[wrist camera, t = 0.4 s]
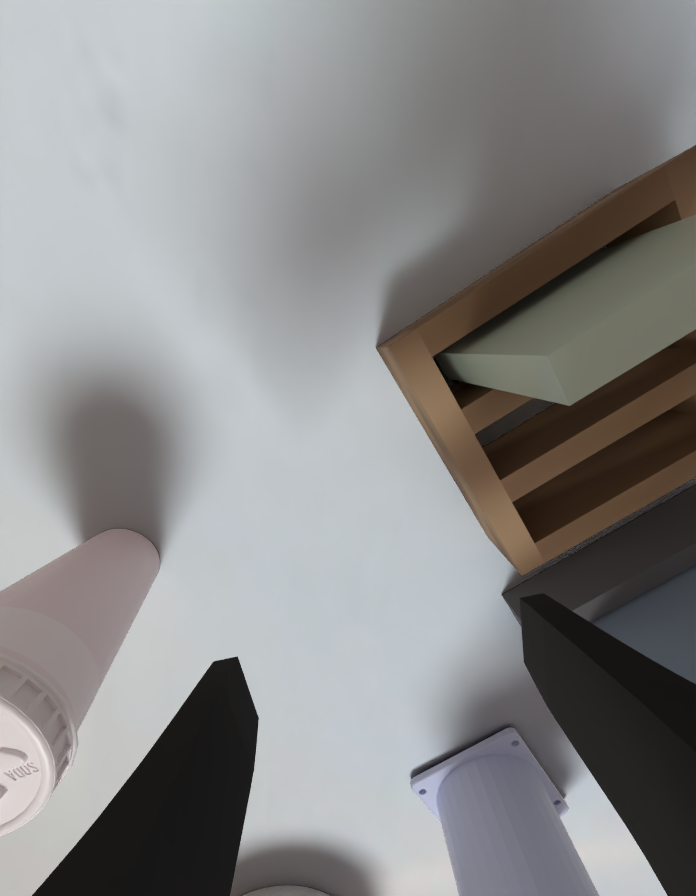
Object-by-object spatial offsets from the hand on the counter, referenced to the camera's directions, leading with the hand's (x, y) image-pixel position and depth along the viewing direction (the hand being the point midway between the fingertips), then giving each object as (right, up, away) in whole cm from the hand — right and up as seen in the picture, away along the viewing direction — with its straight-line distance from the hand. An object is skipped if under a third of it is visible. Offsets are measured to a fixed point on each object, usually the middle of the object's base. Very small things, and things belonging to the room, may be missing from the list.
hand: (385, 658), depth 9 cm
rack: (+9, +8, +9) cm, 15 cm away
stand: (+14, -2, +12) cm, 19 cm away
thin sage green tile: (+7, +11, +8) cm, 15 cm away
